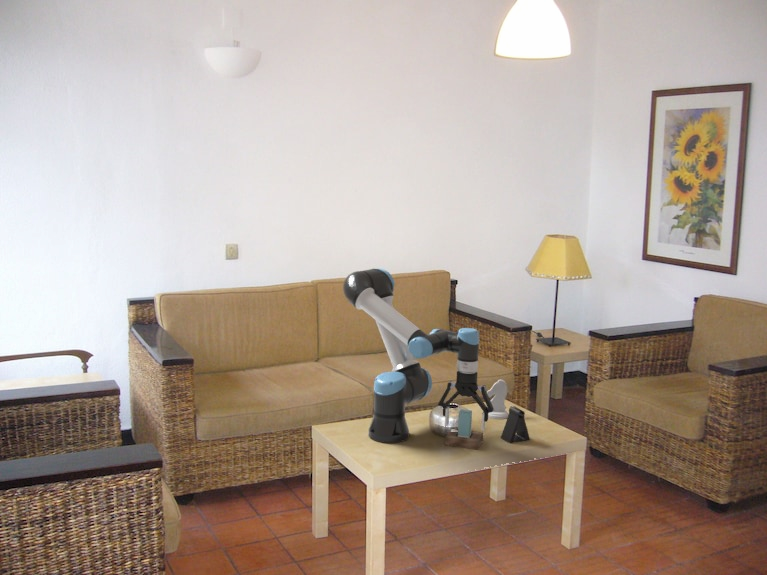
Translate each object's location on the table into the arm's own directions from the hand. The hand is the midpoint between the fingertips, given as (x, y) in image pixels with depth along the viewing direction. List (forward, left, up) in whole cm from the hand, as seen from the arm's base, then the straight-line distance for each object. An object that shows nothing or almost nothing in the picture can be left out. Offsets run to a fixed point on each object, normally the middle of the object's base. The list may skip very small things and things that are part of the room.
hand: (464, 427), depth 288 cm
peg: (0, 0, -6) cm, 6 cm away
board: (0, 0, -6) cm, 6 cm away
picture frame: (+17, +11, -6) cm, 21 cm away
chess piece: (+5, +36, -6) cm, 37 cm away
